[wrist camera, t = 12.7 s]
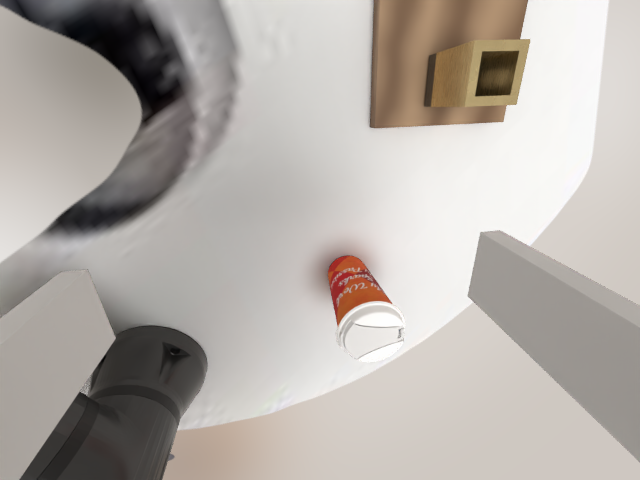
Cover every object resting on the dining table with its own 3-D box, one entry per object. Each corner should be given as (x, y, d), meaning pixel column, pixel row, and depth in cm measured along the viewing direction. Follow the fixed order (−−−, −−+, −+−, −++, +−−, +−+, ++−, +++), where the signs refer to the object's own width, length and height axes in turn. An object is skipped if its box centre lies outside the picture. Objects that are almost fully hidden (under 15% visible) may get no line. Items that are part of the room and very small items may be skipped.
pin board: (370, 127, 36) (389, 131, 30) (376, -73, 29) (404, -123, 22) (492, 121, 38) (535, 123, 32) (528, -69, 30) (593, -114, 24)
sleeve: (424, 106, 34) (464, 106, 26) (429, 55, 32) (474, 40, 24) (465, 105, 34) (516, 104, 27) (473, 54, 32) (530, 39, 25)
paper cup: (370, 244, 43) (410, 303, 30) (372, 289, 46) (409, 358, 33) (317, 253, 42) (335, 316, 29) (322, 297, 45) (341, 371, 33)
